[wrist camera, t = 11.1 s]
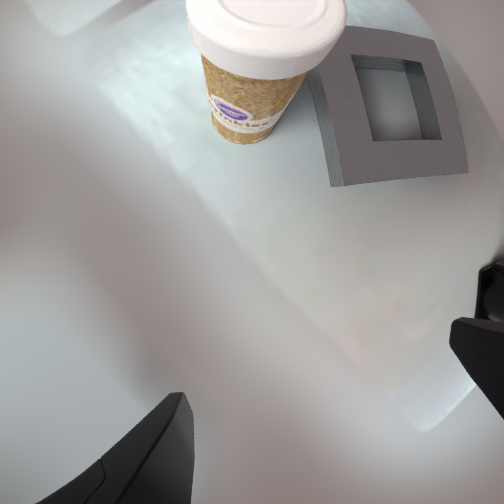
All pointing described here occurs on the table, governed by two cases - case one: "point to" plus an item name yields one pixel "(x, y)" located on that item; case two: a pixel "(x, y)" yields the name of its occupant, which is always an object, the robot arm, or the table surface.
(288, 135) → the table surface
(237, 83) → the sprinkles bottle
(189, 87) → the table surface
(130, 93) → the table surface
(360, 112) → the metal collar
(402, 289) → the table surface
